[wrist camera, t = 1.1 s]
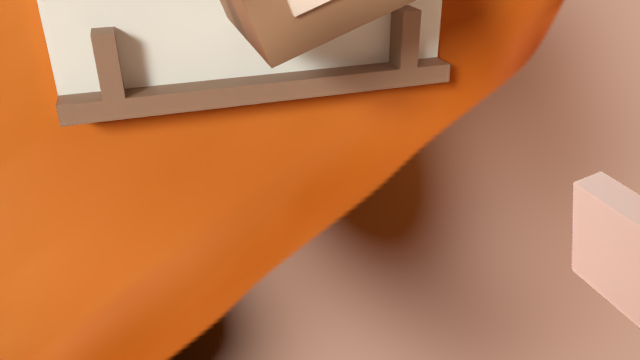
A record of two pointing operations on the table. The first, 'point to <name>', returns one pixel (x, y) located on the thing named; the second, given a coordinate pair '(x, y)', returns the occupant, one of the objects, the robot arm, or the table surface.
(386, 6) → the wooden box
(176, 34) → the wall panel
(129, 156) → the table surface
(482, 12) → the table surface
